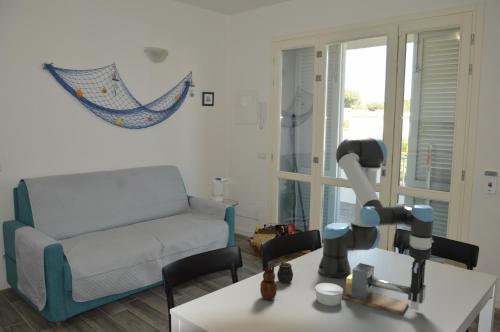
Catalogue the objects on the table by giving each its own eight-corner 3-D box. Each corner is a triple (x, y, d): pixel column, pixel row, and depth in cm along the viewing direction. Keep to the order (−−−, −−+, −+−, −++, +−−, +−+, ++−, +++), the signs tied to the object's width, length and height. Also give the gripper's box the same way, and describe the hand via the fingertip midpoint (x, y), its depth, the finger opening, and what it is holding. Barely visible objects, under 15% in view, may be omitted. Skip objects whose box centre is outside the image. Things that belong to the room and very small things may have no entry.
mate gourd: (285, 286, 171) (285, 264, 170) (273, 281, 177) (273, 259, 176) (296, 282, 176) (296, 260, 175) (284, 277, 182) (284, 256, 181)
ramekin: (326, 309, 151) (326, 296, 150) (308, 298, 161) (309, 285, 160) (348, 304, 156) (349, 291, 155) (330, 292, 166) (331, 281, 165)
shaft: (356, 286, 159) (356, 274, 159) (360, 282, 163) (360, 270, 163) (422, 303, 145) (423, 290, 145) (424, 298, 149) (425, 285, 149)
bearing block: (351, 297, 159) (352, 269, 157) (358, 289, 166) (359, 263, 165) (365, 301, 155) (367, 272, 154) (372, 293, 163) (374, 266, 161)
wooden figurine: (278, 296, 161) (279, 261, 159) (274, 302, 156) (275, 266, 154) (262, 294, 163) (263, 259, 161) (258, 299, 158) (259, 263, 156)
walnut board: (336, 296, 162) (336, 294, 162) (345, 288, 170) (345, 285, 170) (402, 315, 147) (402, 312, 147) (408, 305, 156) (408, 302, 155)
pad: (339, 294, 162) (339, 293, 161) (346, 286, 169) (346, 286, 169) (351, 297, 159) (351, 296, 159) (358, 289, 166) (358, 289, 166)
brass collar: (345, 294, 161) (346, 277, 160) (351, 288, 167) (352, 272, 166) (351, 295, 160) (352, 279, 159) (357, 289, 165) (358, 273, 165)
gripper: (426, 255, 137) (421, 318, 139) (435, 242, 152) (431, 300, 154) (404, 251, 141) (399, 312, 144) (414, 239, 156) (410, 295, 159)
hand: (416, 305), depth 149 cm, fingers closed on shaft, 5 cm apart
